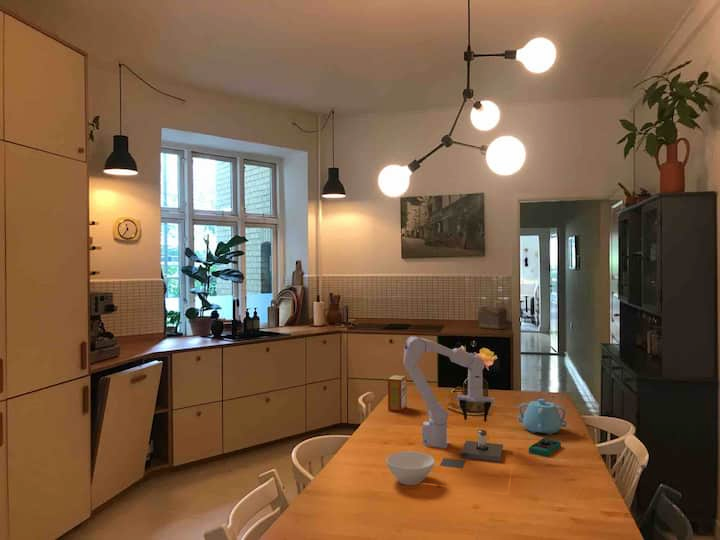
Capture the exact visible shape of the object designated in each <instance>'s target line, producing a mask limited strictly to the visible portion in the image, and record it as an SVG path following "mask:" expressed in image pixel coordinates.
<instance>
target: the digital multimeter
mask: <svg viewBox="0 0 720 540" xmlns="http://www.w3.org/2000/svg"><path fill="white" fill-rule="evenodd" d="M561 447H562V443H561V441H560V440H556V439H554V438H549V437H548V438H547V437H543V438H541V439H540V440H538V441H536V442H535V443H533V444H532V445H530V446H528V453H530V454H533V455H538V456H542V457H546V456H547V457H549V456H550V455H551V454H553V453H554V452H555V451H557V450H558V449H560V448H561Z"/></svg>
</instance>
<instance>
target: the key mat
mask: <svg viewBox="0 0 720 540" xmlns="http://www.w3.org/2000/svg"><path fill="white" fill-rule="evenodd" d="M466 461H467V460H466V459H455V458H448V457H447V458H446V457H443V458H442V460H441V462H440V464H439V467H448V468H456V469H463V468H464V465H465V463H466Z"/></svg>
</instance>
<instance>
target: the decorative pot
mask: <svg viewBox="0 0 720 540" xmlns="http://www.w3.org/2000/svg"><path fill="white" fill-rule="evenodd" d="M522 407H526V408H525V411H524V413H523V410H522ZM559 410H562V416H561V414H560V413H559ZM518 411H519V412H518V413H519V416H518V417H517V422H519V423H520V424H522V423H523V426H524V428H525V429H526V430H528V431H529V432H530V433H531V434H537V433H541V434H546V435H549V436H553V435H554V434H555V433H558V432H559V430H560V429H561V428H565V427H567V426H568V422H567V421H566V420H565V417H566V415H567V411H566V408H564V407H563V406H560V405H558V406H557V405H556V404H555V403H554V402H550V401H547V399H545V398H538V399H537V400H532V401H530V402H529V403H526V402H523V403H521V404H520V405H519V407H518ZM563 423H564V424H563Z"/></svg>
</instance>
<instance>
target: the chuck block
mask: <svg viewBox="0 0 720 540" xmlns="http://www.w3.org/2000/svg"><path fill="white" fill-rule="evenodd" d="M503 451H504V444H503V443H493V442H486V451H485V450H478V441H475V440H473V441H472V440H465V442H464V445H463V446H462V449H461V451H460V458H461V459H464V460H466V459H467V460H475V461H485V462H493V463H501V460H502V456H503Z"/></svg>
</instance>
